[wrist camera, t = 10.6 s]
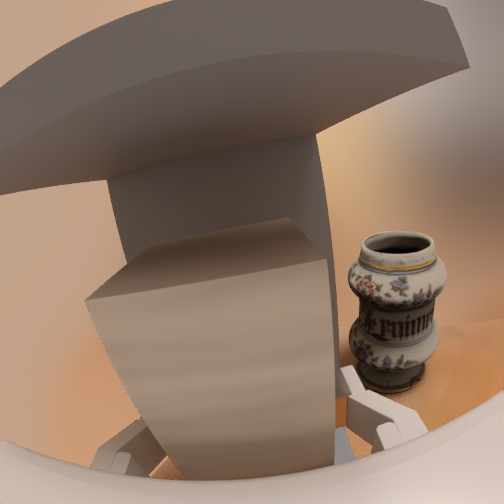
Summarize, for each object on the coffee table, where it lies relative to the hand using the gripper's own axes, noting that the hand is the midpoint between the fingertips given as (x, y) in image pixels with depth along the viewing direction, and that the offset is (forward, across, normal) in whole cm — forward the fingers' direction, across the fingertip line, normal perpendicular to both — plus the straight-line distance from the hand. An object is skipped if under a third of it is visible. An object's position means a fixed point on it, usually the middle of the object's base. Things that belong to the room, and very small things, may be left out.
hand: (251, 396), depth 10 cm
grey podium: (+1, 0, +19) cm, 19 cm away
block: (-1, 0, +8) cm, 8 cm away
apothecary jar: (+19, -16, +19) cm, 31 cm away
